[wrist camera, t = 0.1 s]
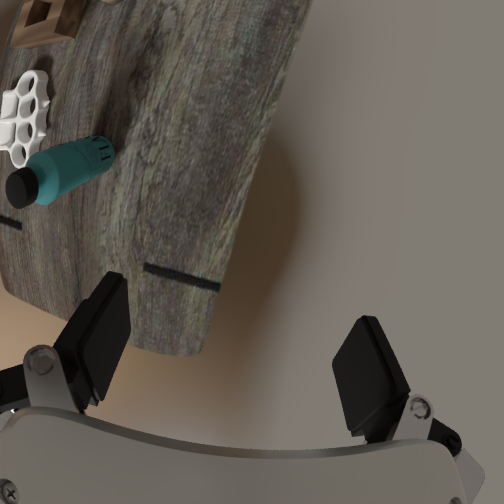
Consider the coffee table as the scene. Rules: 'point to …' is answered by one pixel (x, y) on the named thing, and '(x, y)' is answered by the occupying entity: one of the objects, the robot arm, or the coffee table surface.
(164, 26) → the coffee table surface
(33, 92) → the knuckle duster
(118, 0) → the peg
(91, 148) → the beverage bottle
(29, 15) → the socket block
